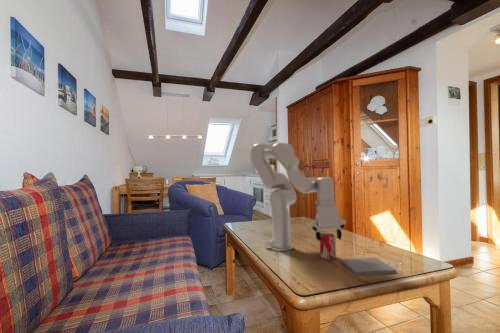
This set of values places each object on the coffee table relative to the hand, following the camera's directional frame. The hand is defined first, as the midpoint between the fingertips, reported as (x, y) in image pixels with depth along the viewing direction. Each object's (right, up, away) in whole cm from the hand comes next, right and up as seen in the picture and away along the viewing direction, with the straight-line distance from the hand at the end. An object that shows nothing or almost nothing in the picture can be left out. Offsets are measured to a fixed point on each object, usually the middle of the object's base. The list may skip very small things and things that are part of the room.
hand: (328, 239), depth 115 cm
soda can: (0, -9, 0) cm, 9 cm away
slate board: (+12, -8, -12) cm, 19 cm away
